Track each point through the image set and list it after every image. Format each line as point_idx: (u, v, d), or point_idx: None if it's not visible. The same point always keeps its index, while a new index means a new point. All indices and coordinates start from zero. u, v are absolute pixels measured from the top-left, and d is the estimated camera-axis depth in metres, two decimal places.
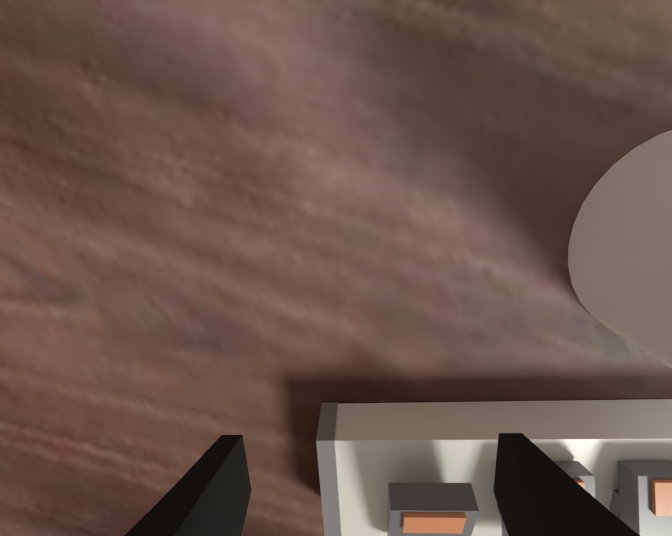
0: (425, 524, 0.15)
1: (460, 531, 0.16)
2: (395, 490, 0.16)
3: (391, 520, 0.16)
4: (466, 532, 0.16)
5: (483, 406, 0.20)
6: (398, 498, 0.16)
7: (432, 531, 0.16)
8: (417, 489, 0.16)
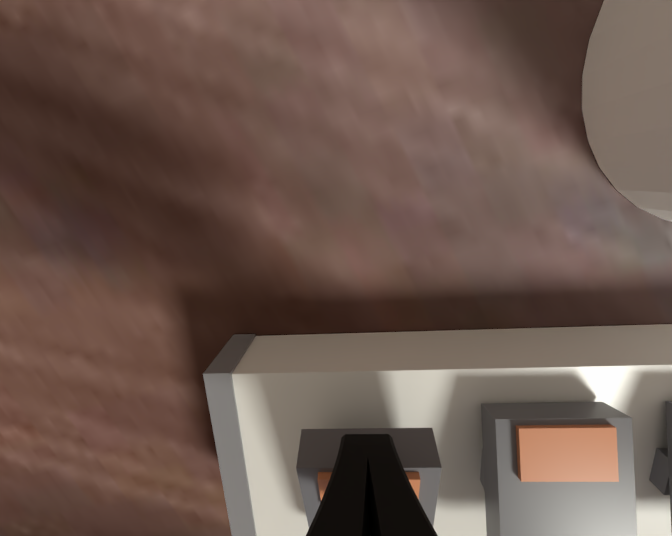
0: None
1: None
2: (310, 439, 0.10)
3: (302, 488, 0.10)
4: (425, 510, 0.10)
5: (460, 334, 0.14)
6: (312, 450, 0.10)
7: None
8: None
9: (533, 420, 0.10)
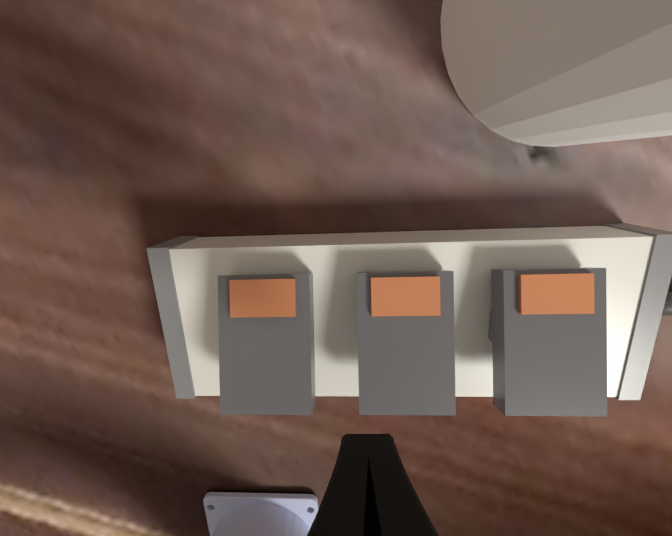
0: (253, 296, 0.14)
1: (292, 311, 0.14)
2: None
3: (219, 299, 0.14)
4: (303, 325, 0.14)
5: (357, 234, 0.17)
6: None
7: (262, 312, 0.14)
8: None
9: (384, 274, 0.14)
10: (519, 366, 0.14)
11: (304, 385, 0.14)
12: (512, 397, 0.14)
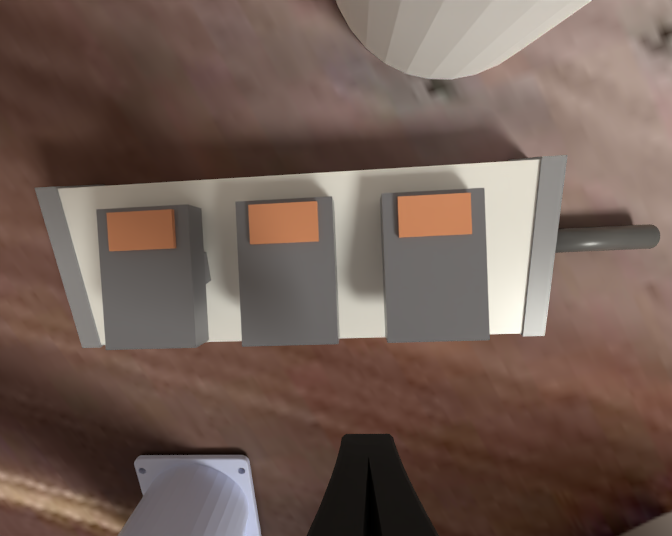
0: (131, 228, 0.14)
1: (171, 243, 0.14)
2: None
3: (99, 233, 0.14)
4: (183, 257, 0.14)
5: None
6: None
7: (140, 245, 0.14)
8: None
9: (263, 202, 0.14)
10: (400, 291, 0.13)
11: (187, 318, 0.14)
12: (394, 323, 0.13)
